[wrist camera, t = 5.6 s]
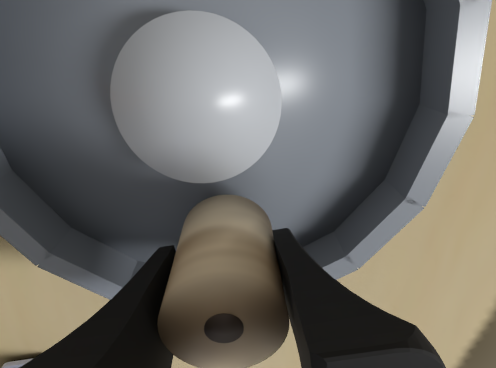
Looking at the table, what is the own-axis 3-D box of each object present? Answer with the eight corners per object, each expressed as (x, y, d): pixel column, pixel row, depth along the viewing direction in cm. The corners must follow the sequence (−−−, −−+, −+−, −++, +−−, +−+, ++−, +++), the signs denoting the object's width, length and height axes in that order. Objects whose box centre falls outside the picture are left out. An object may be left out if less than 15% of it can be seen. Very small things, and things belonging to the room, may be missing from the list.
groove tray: (420, 247, 18) (449, 280, 15) (69, 299, 18) (45, 338, 16) (474, -321, 9) (560, -446, 7) (-189, -184, 10) (-325, -254, 7)
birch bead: (277, 262, 15) (295, 363, 10) (194, 275, 15) (176, 380, 11) (265, 187, 13) (281, 268, 9) (172, 202, 13) (139, 290, 9)
